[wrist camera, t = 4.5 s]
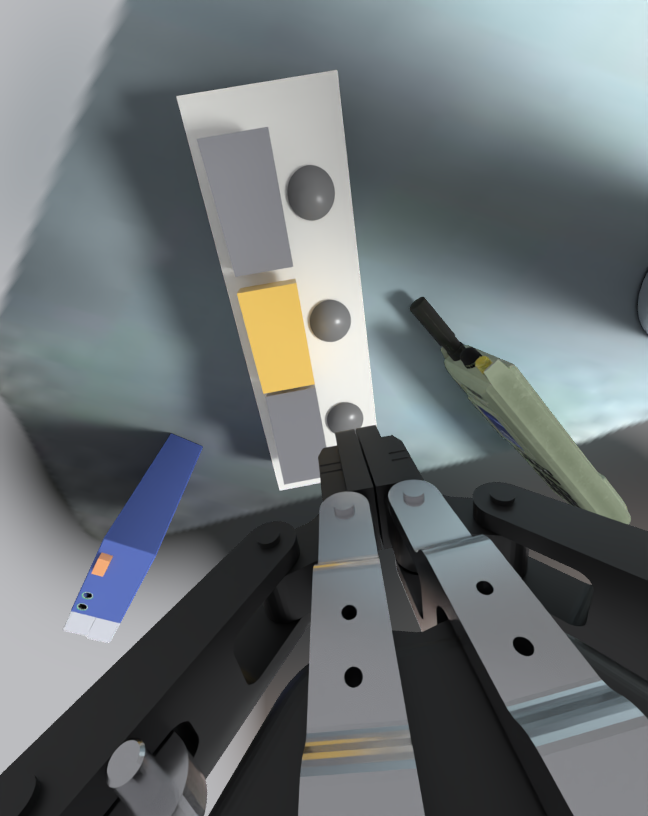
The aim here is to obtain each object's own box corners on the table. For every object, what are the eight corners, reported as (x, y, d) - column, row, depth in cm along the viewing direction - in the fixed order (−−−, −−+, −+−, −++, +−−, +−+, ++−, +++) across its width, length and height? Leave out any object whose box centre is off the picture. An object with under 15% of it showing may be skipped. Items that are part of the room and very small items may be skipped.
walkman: (170, 432, 28) (98, 543, 18) (203, 446, 29) (154, 560, 18) (137, 502, 31) (55, 639, 20) (168, 513, 32) (106, 651, 21)
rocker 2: (314, 384, 24) (315, 387, 22) (329, 466, 25) (331, 475, 23) (267, 392, 23) (265, 396, 22) (285, 475, 25) (284, 484, 23)
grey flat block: (268, 129, 17) (268, 126, 16) (291, 259, 20) (293, 266, 19) (201, 140, 17) (196, 138, 15) (237, 269, 20) (235, 276, 19)
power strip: (328, 101, 21) (337, 68, 17) (370, 445, 31) (382, 472, 27) (195, 124, 21) (175, 94, 17) (280, 462, 31) (279, 491, 27)
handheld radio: (549, 493, 35) (391, 317, 27) (576, 472, 35) (424, 284, 26) (606, 541, 29) (427, 333, 20) (640, 516, 29) (471, 290, 20)
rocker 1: (295, 278, 20) (296, 283, 19) (312, 374, 23) (314, 384, 21) (239, 288, 20) (236, 293, 18) (264, 383, 23) (263, 393, 21)
